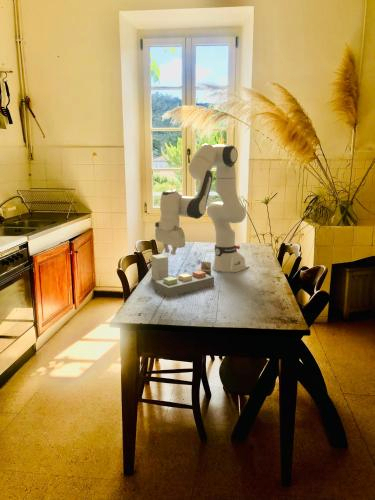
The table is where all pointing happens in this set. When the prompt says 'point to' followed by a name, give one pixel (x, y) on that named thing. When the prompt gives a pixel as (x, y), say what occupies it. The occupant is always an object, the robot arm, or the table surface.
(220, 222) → the robot arm
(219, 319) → the table surface
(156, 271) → the small box
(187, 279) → the cream button
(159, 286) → the console
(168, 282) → the sage button
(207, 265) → the architectural model
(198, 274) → the rust button
